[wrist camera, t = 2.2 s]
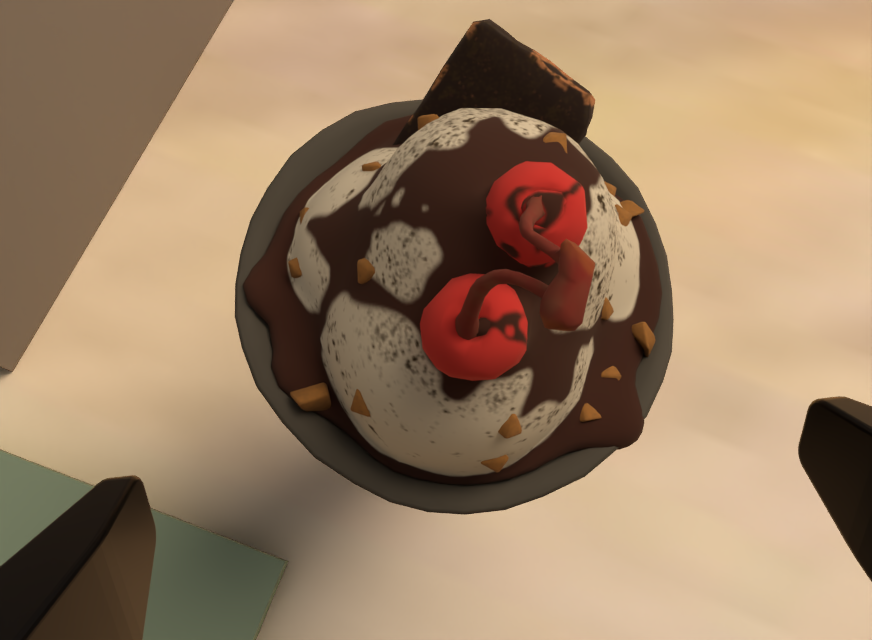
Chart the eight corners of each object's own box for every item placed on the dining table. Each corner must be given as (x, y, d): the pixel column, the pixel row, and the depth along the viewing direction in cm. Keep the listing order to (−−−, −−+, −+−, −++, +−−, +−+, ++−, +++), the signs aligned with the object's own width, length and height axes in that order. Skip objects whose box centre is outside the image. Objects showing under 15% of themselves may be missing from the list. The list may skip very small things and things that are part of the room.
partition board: (12, 371, 19) (-338, 198, 10) (-40, 352, 19) (-437, 161, 10) (255, -37, 25) (176, -406, 15) (213, -52, 25) (109, -427, 15)
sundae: (413, 588, 18) (523, 702, 4) (258, 399, 20) (-55, 2, 6) (585, 426, 20) (1068, 122, 6) (432, 262, 21) (532, -306, 7)
